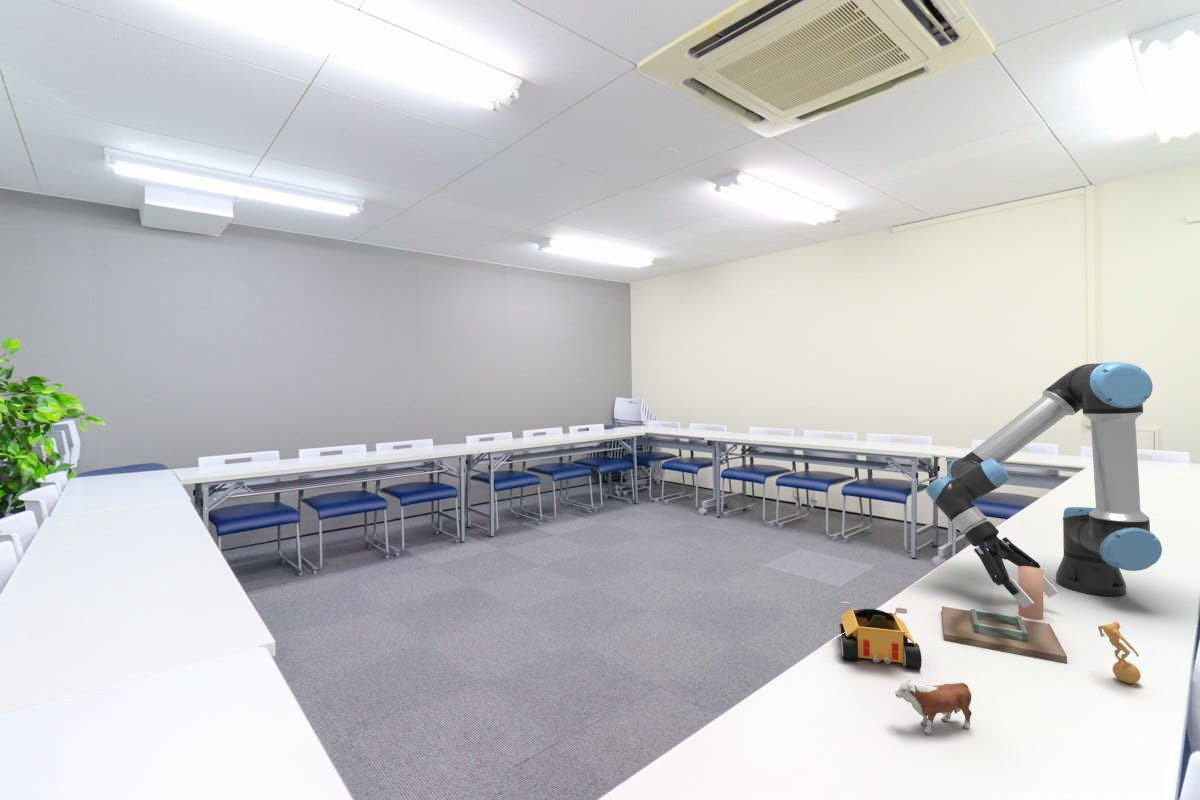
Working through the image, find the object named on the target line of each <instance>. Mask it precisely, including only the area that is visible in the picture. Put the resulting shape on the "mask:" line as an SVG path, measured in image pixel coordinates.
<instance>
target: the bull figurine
mask: <svg viewBox="0 0 1200 800" xmlns="http://www.w3.org/2000/svg"><path fill="white" fill-rule="evenodd" d="M894 691H895V692H894V695H895V696H896V698H897V699H904V700H905V702H907V703H909V704H911V706H912V709H914V711H915V712H917V713H918V714H919V715H921V716H922V720H921V722H920V725H921V726H925V729H924V730H923V733H924V735H926V736H930V735H931V733H932V725H933V723H934V720H935V717H936V715H937V714H942V715H943V716H942V717H941V719H940V720H941V721H942V722H945V723H947V722H948V721H949V720H951V719H952V717H951V716H952V714H953V712H954V714H956V715H957V714H958V712H962V714H963V715H964V723H963V724H962V728H963V729H965V730H969V729H970V726H971V716H972V711H971V709H970V705H971V702H972V693H971V691H970V688H969V686H968V685H967V684H966V683H964V682H956V683H944V684H942V685H941V684H940V685H925V684H916V685H915V684H913V683H912V682H911V680H906V681H904V682H903V683H901V684H900V686H899V688H898V689H897V690H894Z"/></svg>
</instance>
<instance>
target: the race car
mask: <svg viewBox="0 0 1200 800" xmlns="http://www.w3.org/2000/svg"><path fill="white" fill-rule="evenodd" d="M839 607H841V608H842V609H843V608H844V609H849V610H848V611H846V612H845V613H843V615H841V616H840V619H841V622H842V623H839V629H838V630H839V640H840V652H841V657H842V658H841V659H842V660H843V661H850V662H851V661H852V662H858V660H859V658H863V659H871V660H873V662H875V663H879V662H880V661H884V663H885V664H891V662H895V663H902V665H903V667H904V668H905V669H906V668H907V669H915V670H921V669H922V661H923V660H922V652H921V648H920V645H919V644H918V643H917V642H915V640H914V639H913V637H912V635H911V633H910V631H909V629H908V628H907V626H906V624H905V622H904V621H903V620H902V619H900V618H899V617H898V616H897V614H902V615H903V614H908V608H906V607H897V606H896V607H895V612H888V611H887V612H886V611H884V610H881V609H876V608H860V609H857V608H852V607H851V602H847V601H840V602H839ZM844 632H845V633H844ZM842 633H844V634H842ZM840 634H842V635H841V636H840ZM909 641H910V642H909Z"/></svg>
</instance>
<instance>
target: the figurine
mask: <svg viewBox="0 0 1200 800" xmlns="http://www.w3.org/2000/svg"><path fill="white" fill-rule="evenodd" d="M1120 628H1121V626H1120V623H1119V622H1118V621H1114V622H1113V623H1110V624H1104V625H1099V626H1097V629H1098V631H1099V635H1100V637H1101V638H1104V637H1105V636H1107V637H1108V639H1109V640H1108V641H1109V643H1111V645H1112V646H1113V647H1114V648H1115V650H1114V656H1115V657H1116V659H1117V660H1118V661H1116V662H1115V663H1114V664H1113V666H1112V672H1113V675H1114V676H1115V677H1116V678H1117V679H1118V680H1119V681H1121V682H1123V683H1126V684H1136V683H1138V682H1139V681H1140V680H1141V677H1142V676H1141V671H1140V670H1139V668H1138V667H1137V666H1136V665H1134V664H1133V663H1131V662H1129V661H1127V660H1126V658H1127V657H1128V656H1129V655H1130V654H1131V652H1130V650H1131V651H1132V652H1134V654H1135V655H1136V657H1137V658H1139V657H1140V655H1139V653H1138V651H1136V650H1135V648H1134V647H1133V645H1131V644H1130V642H1128V641H1127V640H1126V638H1125V637H1124V636H1123V635H1122V633H1121V632H1120V630H1119V629H1120ZM1103 632H1104V633H1103ZM1120 640H1121V641H1123V642H1124V643H1125V645H1126V646H1127V647H1128V648H1129V649H1130V650H1129V649H1128V648H1127V647H1126V646H1125V645H1124V644H1123V643H1122V642H1120ZM1121 651H1122V652H1123V653H1122V654H1121V655H1120V656H1121V657H1120V656H1119V654H1120V652H1121Z"/></svg>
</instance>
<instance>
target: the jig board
mask: <svg viewBox="0 0 1200 800" xmlns="http://www.w3.org/2000/svg"><path fill="white" fill-rule="evenodd" d="M941 617H942V628H943V640H944V641H946V642H947V641H948V642H951V643H957V644H963V645H967V646H973V647H979V648H983V649H989V650H995V651H1000V652H1005V653H1010V654H1014V655H1015V654H1017V655H1021V656H1025V657H1031V658H1035V659H1041V660H1047V661H1054V662H1058V663H1062V664H1063V663H1064V664H1068V655H1067V653H1066V651H1065V650H1064V648H1063V646H1062V645H1061V644H1062V643H1061V642H1060V641H1059V638H1058V636H1057V634H1056V633H1055V631H1054V630H1053V627H1052V626H1051V623H1049V622H1048V623H1046V622H1041V621H1036V620H1031V619H1028V620H1027V619H1023V617H1022V616H1020V615H1019V616H1018V615H1012V614H1006V613H1000V612H994V611H989V610H981V609H976V608H975V609H974V608H970V610H968V609H962V608H954V607H949V606H941Z"/></svg>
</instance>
